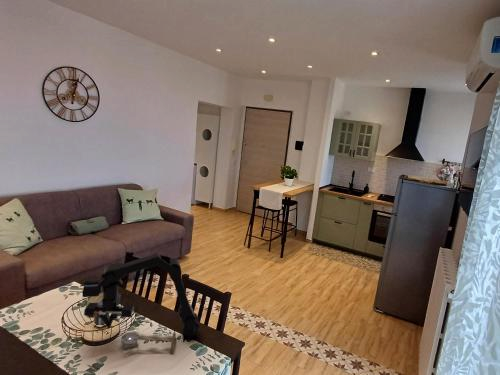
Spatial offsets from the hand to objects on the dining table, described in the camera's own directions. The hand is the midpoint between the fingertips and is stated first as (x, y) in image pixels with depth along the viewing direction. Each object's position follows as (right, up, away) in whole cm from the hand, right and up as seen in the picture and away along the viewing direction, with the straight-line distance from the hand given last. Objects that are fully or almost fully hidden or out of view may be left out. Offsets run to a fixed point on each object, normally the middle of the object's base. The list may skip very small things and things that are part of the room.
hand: (108, 327), depth 139 cm
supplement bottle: (-10, -5, +14) cm, 17 cm away
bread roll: (-16, -2, +25) cm, 30 cm away
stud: (+8, -9, +3) cm, 12 cm away
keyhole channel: (+18, -10, +4) cm, 21 cm away
